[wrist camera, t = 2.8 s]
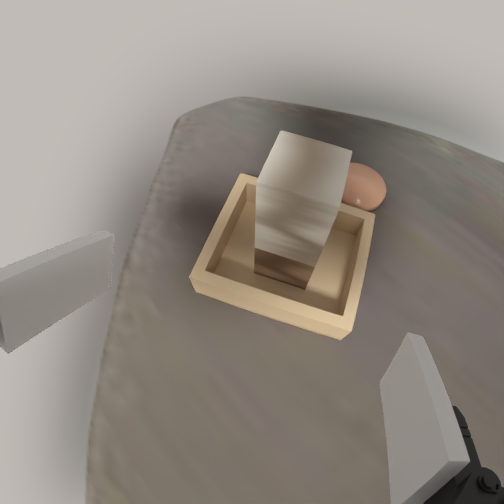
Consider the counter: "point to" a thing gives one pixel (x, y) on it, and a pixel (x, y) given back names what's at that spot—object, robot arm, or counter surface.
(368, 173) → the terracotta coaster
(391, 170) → the counter surface
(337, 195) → the two-tone block
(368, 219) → the beige open tray
